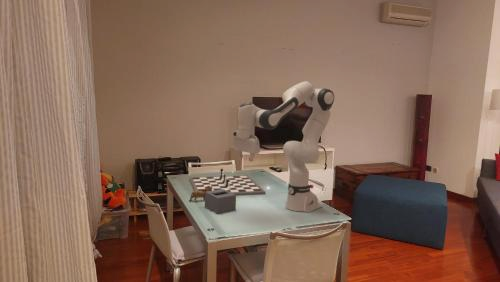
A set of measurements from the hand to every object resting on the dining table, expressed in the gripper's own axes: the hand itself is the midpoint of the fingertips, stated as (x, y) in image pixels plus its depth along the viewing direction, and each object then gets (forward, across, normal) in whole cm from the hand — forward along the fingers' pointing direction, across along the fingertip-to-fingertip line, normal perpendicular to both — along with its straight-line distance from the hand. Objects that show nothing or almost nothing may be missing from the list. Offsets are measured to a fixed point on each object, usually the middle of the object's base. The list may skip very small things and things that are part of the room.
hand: (245, 159), depth 194 cm
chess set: (+32, +54, -20) cm, 66 cm away
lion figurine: (+31, +34, +9) cm, 47 cm away
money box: (+31, +16, +7) cm, 35 cm away
